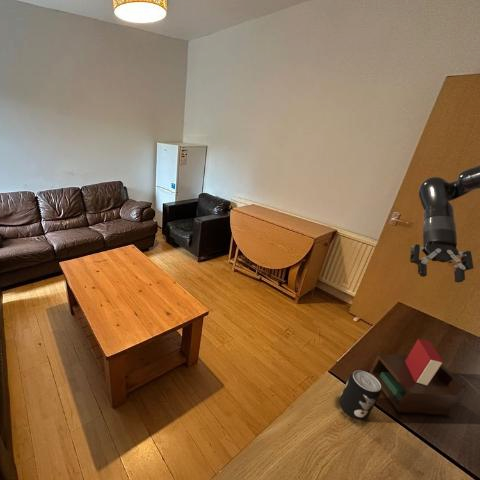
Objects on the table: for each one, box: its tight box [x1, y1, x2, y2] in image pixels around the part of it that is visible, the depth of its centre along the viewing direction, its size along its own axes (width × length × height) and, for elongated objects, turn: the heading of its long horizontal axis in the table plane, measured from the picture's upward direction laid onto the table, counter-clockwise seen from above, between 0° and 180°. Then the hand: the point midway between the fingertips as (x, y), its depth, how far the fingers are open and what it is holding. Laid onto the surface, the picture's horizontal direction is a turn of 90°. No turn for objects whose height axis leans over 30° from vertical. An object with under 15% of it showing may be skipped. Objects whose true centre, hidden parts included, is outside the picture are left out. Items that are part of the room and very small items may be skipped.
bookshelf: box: [368, 353, 467, 416], centre depth 71 cm, size 12×12×11 cm
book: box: [405, 338, 444, 386], centre depth 68 cm, size 3×7×9 cm, turn 156°
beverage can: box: [338, 369, 382, 421], centre depth 67 cm, size 7×7×12 cm
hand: (440, 279), depth 81 cm, fingers open, 8 cm apart
